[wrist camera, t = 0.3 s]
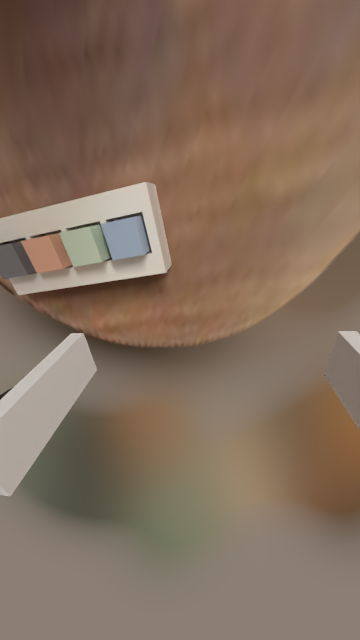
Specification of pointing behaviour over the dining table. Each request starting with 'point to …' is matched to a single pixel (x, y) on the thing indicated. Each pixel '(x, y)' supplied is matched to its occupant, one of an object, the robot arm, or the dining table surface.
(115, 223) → the slate key
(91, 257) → the sage key
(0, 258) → the charcoal key
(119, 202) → the keypad
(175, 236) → the dining table surface
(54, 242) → the terracotta key
